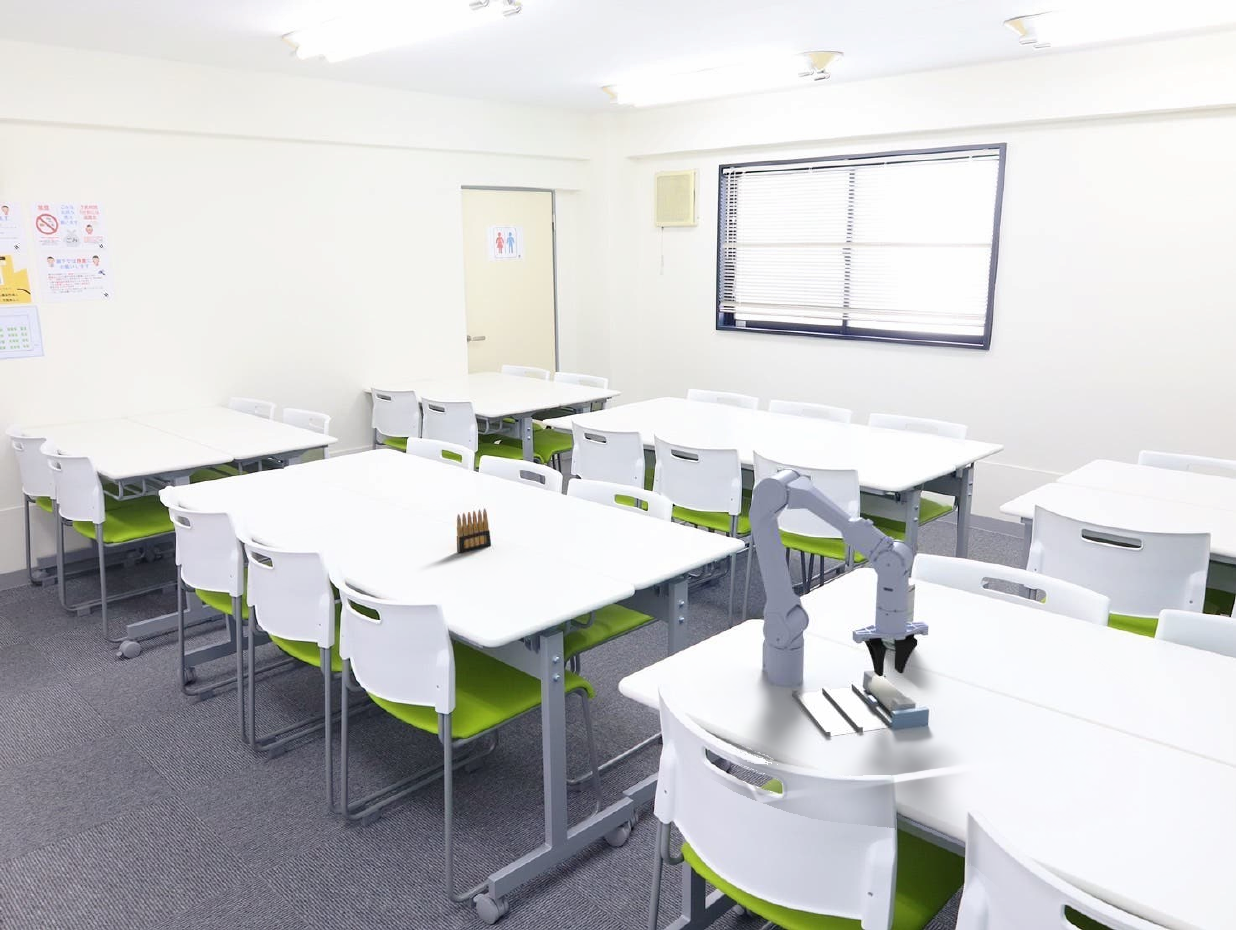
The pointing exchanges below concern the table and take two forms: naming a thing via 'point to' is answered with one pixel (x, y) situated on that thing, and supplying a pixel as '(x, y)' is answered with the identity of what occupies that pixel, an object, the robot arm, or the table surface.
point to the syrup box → (910, 614)
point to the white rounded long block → (886, 692)
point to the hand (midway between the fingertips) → (888, 672)
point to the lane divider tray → (856, 711)
